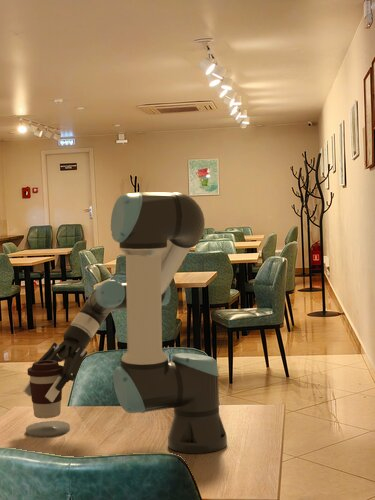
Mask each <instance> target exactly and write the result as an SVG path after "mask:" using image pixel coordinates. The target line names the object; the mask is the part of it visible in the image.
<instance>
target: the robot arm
mask: <svg viewBox="0 0 375 500" xmlns="http://www.w3.org/2000/svg"><path fill="white" fill-rule="evenodd" d="M110 218H111V219H110V232H111V237H112V240H113V241H114V242H117V243H119V250H120V251H121V252H123V254H125V273H126V274H125V276H126V278H125V280H126V281H125V282H120V281H117V280H116V279H109V280H106V281H104V282H103V283H101V284H99V285H96V287H95V289H93V290H92V292H91V293H90V295H89V297H88V298H87V300H86V301H85V303H84V305H83V306H82V307H81V309H79V312H78V313H77V314H76V315H75V317H74V318H73V319H72V322H71V323H70V325H69V326H68V327H67V328H66V330H65V332H64V333H63V335H62V337H63V341H62V342H61V343H60V344H58V343H57V342H53V343H52V345H51V346H50V347H49V349H47V351H46V352H45V353H44V354H43V355H42V357H40V359H39V360H38V361H43V360H55V361H57V362H58V363H60V362H62V361H63V365H62V366H63V370H62V374H59V375H60V376H61V377H62V378H60V377H58V378H57V379H56V381H55V382H54V384H53V385H52V387H51V388H50V390H49V391H48V393H47V394H46V396H45V397H46V398H47V399H48V400H49V401H51V402H53V401H54V400H55V398H56V397H57V395H58V394H59V392H60V391H61V390H62V391H63V388H64V387H65V385H66V384H67V383H68V382H69V381H71V382H74V381H75V380H76V377H77V375H78V373H79V370H80V368H81V367H82V363H83V362H84V359H85V358H86V356H87V355H88V351H87V350H86V349H87V348H88V346H89V344H90V343H91V340H92V338H94V337H95V335H96V333H97V332H98V329H99V328H100V327H101V326H102V324H103V322H104V321H105V320H106V318H107V317H108V315H109V314H110V313H111V312H113V311H115V310H125V309H126V339H127V340H126V342H127V343H126V344H127V345H126V347H127V349H126V350H127V351H126V353H125V354H123V355H122V357H121V359H120V360H121V361H120V362H121V366H119V365H118V366H117V367H115V368H114V370H113V375H112V376H113V377H112V379H113V386H114V387H113V388H114V391H115V395H116V398H117V400H118V403H119V404H120V407H121V409H122V410H124V411H125V413H128V414H139V413H140V414H145V413H148V412H156V411H162V410H168V409H173V418H172V421H171V425H170V429H169V432H168V436H167V447H168V448H169V449H170V450H172V451H175V452H179V453H183V454H207V453H212V452H217V451H220V450H221V449H224V448H226V447H227V444H228V440H227V439H228V438H227V432H226V429H225V427H224V424H223V421H222V418H221V415H220V400H219V399H220V396H219V395H220V393H219V392H220V388H219V385H220V384H219V377H220V374H219V368H218V362H217V360H216V359H215V358H214V357H211V356H208V355H205V354H204V355H203V354H198V353H188V352H187V353H185V352H184V353H183V352H182V353H181V352H180V353H174V354H173V355H172V356H171V361H169V356H168V354H166V353H165V352H164V350H163V336H162V335H163V332H162V331H163V330H162V329H163V328H162V327H163V326H162V324H163V323H162V321H163V319H162V312H163V311H162V309H163V308H162V306H166V305H169V302H170V300H171V297H172V295H171V294H172V293H171V287H170V284H171V282H172V280H173V278H174V277H175V276H176V274H177V272H178V271H179V268H180V267H181V265H182V263H183V262H184V260H185V258H186V257H187V255H188V253H189V251H190V249H191V248H194V247H196V246H197V245H198V243H200V240H201V239H202V236H203V235H204V232H205V217H204V212H203V210H202V208H201V206H200V205H199V203H198V202H197V201H196V200H194V199H193V197H191V196H189V195H188V194H185V193H181V192H176V191H175V192H173V191H171V192H138V191H137V192H133V193H132V192H131V193H123V194H121V195H120V196H119V197H118V198H117V199H116V201H115V203H114V205H113V208H112V212H111V217H110ZM22 391H23V393H24V394H26V395H27V396H28V397H31V389H30V379H29V381H28V382H27V384H26V385H25V387H24V388H23V389H22Z"/></svg>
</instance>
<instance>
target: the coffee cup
mask: <svg viewBox="0 0 375 500" xmlns="http://www.w3.org/2000/svg"><path fill="white" fill-rule="evenodd" d="M62 370H63V365H62V364H61V365H60V364H59V362H57V361H55V360H43V361H39V360H38V361H33V363H32V365H31V366H30V367H28V368H27V370H26V371H27V376H29V380H30V389H31V396H30V397H31V398H30V399H31V403H32V408H33V416H34V417H35V418H37V419H53V418H56V417H58V416H60V414H61V412H62V410H61V407H62V404H61V403H62V400H63V399H62V398H63V397H62V395H63V393H62V392H63V389H62V390H61V391H60V392H59V394H58V395H57V397H56V398H55V400H54V401H53V402H51V401H49V400H48V399H47V398H46V397H45V396H46V394H47V393H48V391H49V390H50V388H51V387H52V385H53V384H54V382H55V381H56V379H57V378H58V377H60V378H62V377H61V376H60V375H59V374H62Z"/></svg>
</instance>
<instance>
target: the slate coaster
mask: <svg viewBox="0 0 375 500" xmlns="http://www.w3.org/2000/svg"><path fill="white" fill-rule="evenodd" d="M70 429H71V428H70V423H69V422H65V421H62V420H47V421H39V422H36V423H32V424H29V425H27V426H26V427H25V434H26V435H27V436H29V437H33V438H42V439H43V438H52V437H53V438H55V437H58V436H62V435H65V434H67V433H69V432H70Z"/></svg>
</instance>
